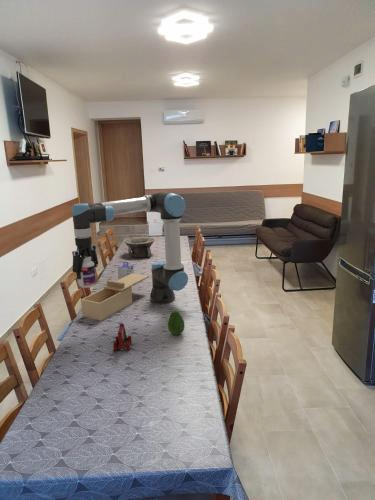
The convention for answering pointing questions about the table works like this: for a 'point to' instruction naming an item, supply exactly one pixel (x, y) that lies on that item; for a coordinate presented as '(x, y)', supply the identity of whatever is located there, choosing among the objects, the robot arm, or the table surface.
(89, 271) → the pill bottle
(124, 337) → the red pointed piece
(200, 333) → the table surface
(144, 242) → the bowl
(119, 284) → the lid
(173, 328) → the fruit
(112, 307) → the mailer box
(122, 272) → the ink cartridge box
